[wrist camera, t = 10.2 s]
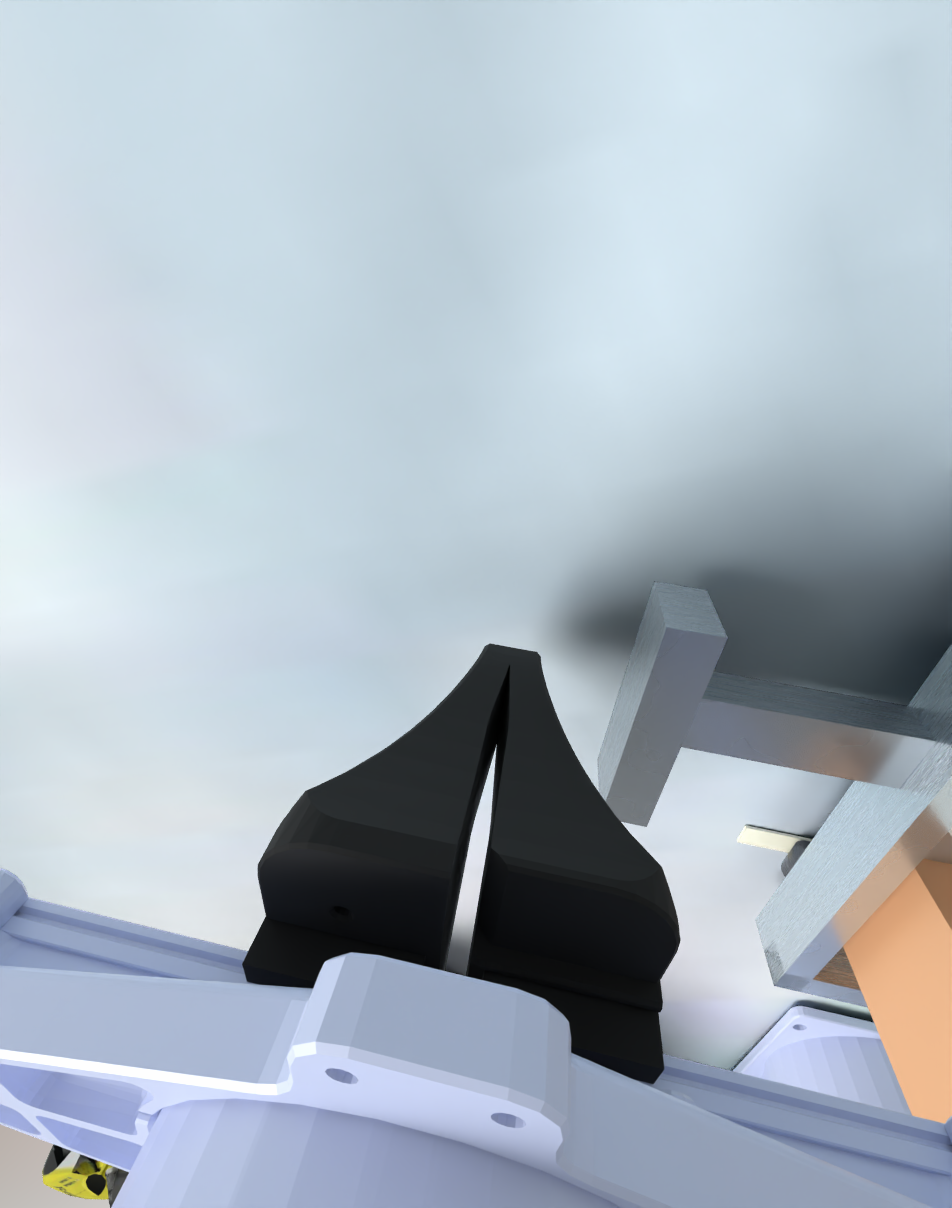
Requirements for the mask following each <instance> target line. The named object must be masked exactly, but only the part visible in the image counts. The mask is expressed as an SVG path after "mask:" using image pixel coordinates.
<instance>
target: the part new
mask: <svg viewBox="0 0 952 1208" xmlns="http://www.w3.org/2000/svg"><path fill="white" fill-rule="evenodd" d="M843 948H844V950H845V952H846V955H847V957H848V960H849V962H850V965H851V967H852V970H853V972H854V974H855V977H856V979H857V982H858V984H859V987H860V989H861V992H862V994H863V996H864V999H865V1001H866V1004H867V1006H868V1009H869V1011H870V1014H871V1016H872V1018H873V1021H874V1023H875V1026H876V1028H877V1031H878V1033H879V1036H880V1038H881V1041H882V1043H883V1045H884V1048H885V1050H886V1053H887V1055H888V1058H889V1060H890V1063H891V1065H892V1067H893V1070H894V1072H895V1075H896V1077H897V1080H898V1082H899V1085H900V1087H901V1089H902V1092H903V1094H904V1097H905V1099H906V1102H907V1104H908V1107H909V1109H910V1111H911V1114H912V1116H916V1117H920V1118H924V1119H928V1120H932V1121H936V1122H940V1123H944V1124H945V1123H946V1121H947V1120H948V1119H949V1118H950V1117H951V1116H952V864H948V863H943V862H938V861H933V860H928V859H923V860H922V861H921V862H920V863H919V864H918V865H917V866H916V867H915V869H914V870H913V871H912V872H911V873H910V874H909V875H908V876H907V877H906V878H905V879H904V881H903V882H902V883H901V884H900V885H899V886H898V887H897V888H896V889H895V890H894V891H893V892H892V894H891V895H890V896H889V897H888V898H887V899H886V900H885V901H884V902H883V903H882V904H881V905H880V907H879V908H878V909H877V910H876V911H875V912H874V913H873V914H872V915H871V916H870V917H869V919H868V920H867V921H866V922H865V923H864V924H863V925H862V926H861V927H860V928H859V929H858V930H857V932H856V933H855V934H854V935H853V936H852V937H851V938H850V939H849V940H848V941H847V942H846V944H845V945H844V946H843Z"/></svg>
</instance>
